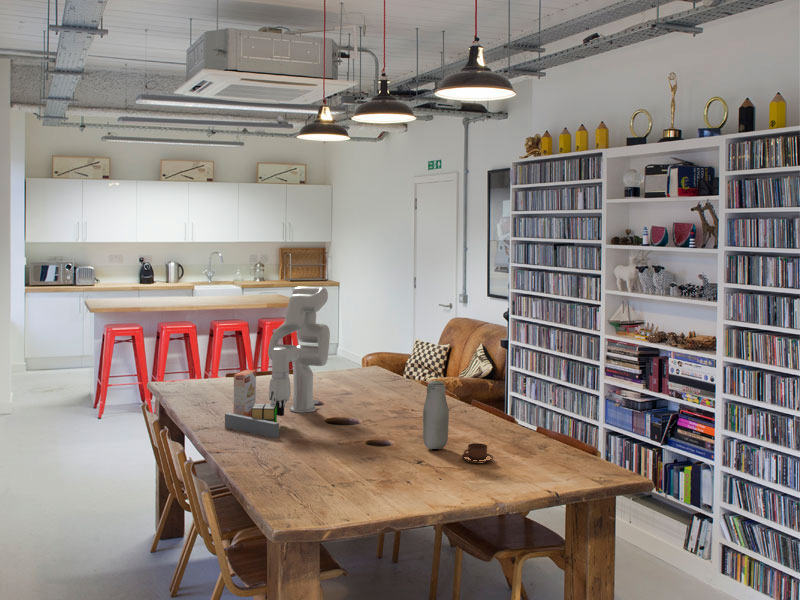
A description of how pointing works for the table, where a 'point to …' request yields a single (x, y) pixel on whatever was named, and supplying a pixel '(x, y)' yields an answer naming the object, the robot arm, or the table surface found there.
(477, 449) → the cup and saucer
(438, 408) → the glass bottle
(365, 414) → the table surface
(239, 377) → the cracker box
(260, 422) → the stop board
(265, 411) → the puzzle cube
